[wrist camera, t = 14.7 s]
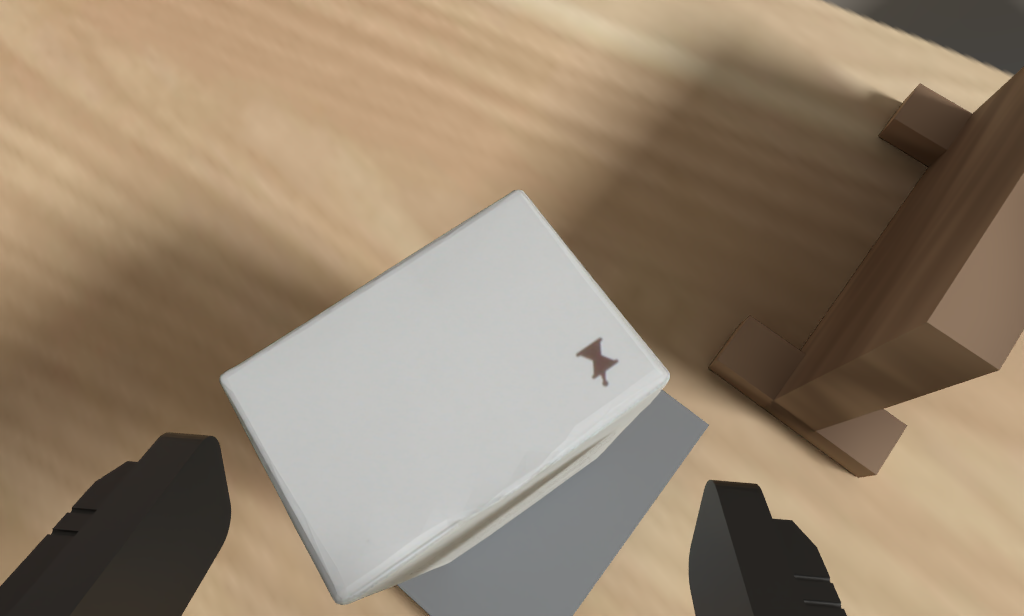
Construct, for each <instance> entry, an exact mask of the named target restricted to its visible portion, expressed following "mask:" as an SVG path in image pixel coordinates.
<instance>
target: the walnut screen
mask: <svg viewBox="0 0 1024 616" xmlns="http://www.w3.org/2000/svg"><path fill="white" fill-rule="evenodd" d="M879 137H881V138H882V139H884V140H885V141H887V142H889V143H890V144H892V145H894V146H895V147H897V148H899V149H900V150H902V151H904V152H905V153H907V154H908V155H910V156H912V157H913V158H915V159H917V160H918V161H920V162H922V163H923V164H925V165H927V166H928V168H927V170H926V171H925V173H924V174H923V176H922V177H921V178H920V180H919V181H918V183H917V184H916V186H915V187H914V188H913V190H912V191H911V193H910V194H909V196H908V197H907V199H906V200H905V201H904V203H903V204H902V206H901V207H900V209H899V210H898V211H897V213H896V214H895V216H894V217H893V219H892V220H891V221H890V223H889V224H888V226H887V227H886V229H885V230H884V231H883V233H882V234H881V236H880V237H879V239H878V240H877V242H876V243H875V244H874V246H873V247H872V249H871V250H870V252H869V253H868V254H867V256H866V257H865V259H864V260H863V262H862V263H861V264H860V266H859V267H858V269H857V270H856V272H855V273H854V274H853V276H852V277H851V279H850V280H849V282H848V283H847V285H846V286H845V287H844V289H843V290H842V292H841V293H840V295H839V296H838V297H837V299H836V300H835V302H834V303H833V305H832V306H831V307H830V309H829V310H828V312H827V313H826V315H825V316H824V317H823V319H822V320H821V322H820V323H819V325H818V326H817V328H816V329H815V330H814V332H813V333H812V335H811V336H810V338H809V339H808V340H807V342H806V343H805V345H804V346H803V348H802V349H801V350H799V349H797V348H796V347H794V346H793V345H792V344H790V343H789V342H787V341H786V340H784V339H783V338H782V337H780V336H779V335H777V334H776V333H774V332H773V331H772V330H770V329H769V328H767V327H766V326H764V325H763V324H762V323H760V322H759V321H757V320H756V319H754V318H753V317H752V316H749V317H748V318H746V319H745V320H744V321H743V322H742V323H741V324H740V325H739V326H738V328H737V329H736V330H735V332H734V333H733V334H732V336H731V337H730V338H729V340H728V341H727V343H726V344H725V345H724V347H723V348H722V349H721V351H720V352H719V353H718V355H717V356H716V358H715V359H714V360H713V362H712V363H711V364H710V366H709V367H708V368H709V369H710V370H712V371H713V372H714V373H716V374H717V375H719V376H720V377H721V378H723V379H724V380H725V381H727V382H728V383H729V384H731V385H732V386H734V387H735V388H736V389H738V390H739V391H740V392H742V393H743V394H745V395H746V396H747V397H749V398H750V399H751V400H753V401H754V402H755V403H757V404H758V405H760V406H761V407H762V408H764V409H765V410H766V411H768V412H769V413H771V414H772V415H773V416H775V417H776V418H777V419H779V420H780V421H781V422H783V423H784V424H786V425H787V426H788V427H790V428H791V429H792V430H794V431H795V432H797V433H798V434H799V435H801V436H802V437H803V438H805V439H806V440H807V441H809V442H810V443H812V444H813V445H814V446H816V447H817V448H818V449H820V450H821V451H823V452H824V453H825V454H827V455H828V456H829V457H831V458H832V459H833V460H835V461H836V462H838V463H839V464H840V465H842V466H843V467H844V468H846V469H847V470H849V471H850V472H851V473H853V474H854V475H855V476H857V477H858V478H859V477H866V476H873V475H877V473H878V471H879V470H880V468H881V467H882V465H883V463H884V462H885V460H886V459H887V457H888V456H889V454H890V452H891V451H892V449H893V448H894V446H895V444H896V443H897V441H898V440H899V438H900V436H901V435H902V433H903V432H904V430H905V428H906V427H907V425H906V424H904V423H903V422H901V421H900V420H899V419H897V418H896V417H894V416H893V415H891V414H890V413H889V412H887V411H886V410H884V408H887V407H890V406H893V405H896V404H899V403H902V402H905V401H908V400H911V399H914V398H917V397H920V396H923V395H926V394H929V393H932V392H935V391H938V390H941V389H944V388H947V387H950V386H953V385H956V384H959V383H962V382H965V381H968V380H971V379H974V378H977V377H980V376H983V375H986V374H989V373H992V372H995V371H998V370H1000V368H1001V367H1002V365H1003V363H1004V362H1005V360H1006V358H1007V357H1008V355H1009V353H1010V352H1011V350H1012V348H1013V347H1014V345H1015V343H1016V342H1017V340H1018V338H1019V337H1020V335H1021V333H1022V332H1023V330H1024V67H1023V68H1022V69H1021V70H1020V71H1019V72H1018V73H1016V74H1015V75H1014V76H1013V77H1012V78H1011V79H1010V80H1009V81H1008V82H1007V83H1005V84H1004V85H1003V86H1002V87H1001V88H1000V89H999V90H998V91H997V92H996V93H995V94H994V95H992V96H991V97H990V98H989V99H988V100H987V101H986V102H985V103H984V104H983V105H982V106H980V107H979V108H978V109H977V110H976V111H975V112H974V113H973V114H972V113H970V112H968V111H967V110H965V109H963V108H961V107H960V106H958V105H956V104H955V103H953V102H951V101H949V100H948V99H946V98H944V97H943V96H941V95H939V94H937V93H936V92H934V91H932V90H930V89H929V88H927V87H925V86H924V85H922V84H919V85H918V86H917V87H916V88H915V89H914V91H913V92H912V93H911V94H910V95H909V96H908V97H907V98H906V99H905V101H904V102H903V103H902V104H901V106H900V107H899V108H898V110H897V111H896V112H895V114H894V115H893V117H892V118H891V119H890V121H889V122H888V123H887V125H886V126H885V127H884V129H883V130H882V132H881V133H880V134H879Z"/></svg>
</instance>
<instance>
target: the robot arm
mask: <svg viewBox="0 0 1024 616" xmlns="http://www.w3.org/2000/svg"><path fill="white" fill-rule="evenodd" d="M230 520H231V504H230V498H229V493H228V487H227V482H226V476H225V471H224V465H223V460H222V455H221V449H220V445H219V442H218V440H217V439H216V438H215V437H213V436H205V435H193V434H181V433H165V434H163V435H162V436H160V437H159V438H158V439H157V441H156V442H155V443H154V444H153V445H152V446H151V448H150V449H149V450H148V451H147V452H146V453H145V454H144V456H143V457H142V458H141V459H140V460H139V461H138V462H131V461H127V462H125V463H124V464H122V465H121V466H119V467H118V468H116V469H115V470H113V471H111V472H110V473H108V474H107V475H105V476H104V477H102V478H101V479H99V480H97V481H96V482H95V483H94V484H93V485H92V486H91V487H90V488H89V489H88V490H87V491H86V493H85V494H84V495H83V496H82V497H81V498H80V499H79V500H78V501H77V502H76V504H75V505H74V506H73V507H72V511H71V513H66V515H65V516H64V517H63V518H62V519H61V520H60V521H59V522H58V523H57V525H56V526H55V527H54V528H53V532H52V534H51V535H50V534H47V536H46V537H45V538H44V539H43V540H42V541H41V542H40V543H39V544H38V545H37V547H36V548H35V549H34V550H33V551H32V552H31V553H30V554H29V555H28V556H27V558H26V559H25V560H24V561H23V562H22V563H21V564H20V565H19V566H18V567H17V569H16V570H15V571H14V572H13V573H12V574H11V575H10V576H9V577H8V578H7V580H6V581H5V582H4V583H3V584H2V585H1V586H0V616H181V615H182V614H183V612H184V610H185V609H186V607H187V605H188V603H189V602H190V600H191V598H192V597H193V595H194V593H195V592H196V590H197V588H198V586H199V585H200V583H201V581H202V580H203V578H204V576H205V575H206V573H207V571H208V569H209V568H210V566H211V564H212V563H213V561H214V559H215V558H216V556H217V554H218V552H219V551H220V549H221V547H222V545H223V544H224V541H225V539H226V536H227V533H228V530H229V525H230ZM689 583H690V590H691V595H692V600H693V605H694V610H695V615H696V616H847V615H846V613H845V610H844V609H841V601H840V599H839V597H838V594H837V592H836V590H835V588H834V585H833V583H830V576H829V574H828V572H827V569H826V567H825V565H824V563H823V560H822V558H821V556H820V553H819V551H818V549H817V547H816V546H815V545H814V544H813V543H812V542H811V540H810V539H809V538H808V537H807V536H806V535H805V534H804V533H803V532H802V531H801V530H800V529H799V527H798V526H797V525H796V524H795V523H794V522H793V521H792V520H781V519H772V516H771V514H770V511H769V508H768V506H767V503H766V501H765V498H764V495H763V493H762V490H761V488H760V487H759V486H758V485H757V484H752V483H740V482H729V481H717V480H709V481H708V482H707V484H706V486H705V489H704V493H703V497H702V501H701V505H700V510H699V514H698V518H697V522H696V526H695V531H694V535H693V539H692V543H691V548H690V554H689Z"/></svg>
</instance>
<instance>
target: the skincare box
mask: <svg viewBox="0 0 1024 616" xmlns="http://www.w3.org/2000/svg"><path fill="white" fill-rule="evenodd" d="M669 379H670V373H669V371H668V370H667V369H666V367H665V366H664V365H663V364H662V363H661V361H660V360H659V359H658V358H657V357H656V355H655V354H654V353H653V352H652V350H651V349H650V348H649V347H648V346H647V344H646V343H645V342H644V341H643V339H642V338H641V337H640V336H639V335H638V333H637V332H636V331H635V330H634V328H633V327H632V326H631V325H630V324H629V322H628V321H627V320H626V319H625V317H624V316H623V315H622V314H621V312H620V311H619V310H618V309H617V307H616V306H615V305H614V304H613V302H612V301H611V300H610V299H609V297H608V296H607V295H606V294H605V292H604V291H603V290H602V289H601V288H600V286H599V285H598V284H597V283H596V281H595V280H594V279H593V278H592V276H591V275H590V274H589V273H588V271H587V270H586V269H585V268H584V266H583V265H582V264H581V263H580V261H579V260H578V259H577V258H576V256H575V255H574V254H573V253H572V251H571V250H570V249H569V248H568V246H567V245H566V244H565V243H564V241H563V240H562V239H561V238H560V236H559V235H558V234H557V233H556V231H555V230H554V229H553V227H552V226H551V225H550V224H549V222H548V221H547V220H546V219H545V217H544V216H543V215H542V214H541V212H540V211H539V210H538V209H537V207H536V206H535V205H534V204H533V202H532V201H531V200H530V199H529V197H528V196H527V195H526V194H525V193H524V192H523V190H514V191H512V192H511V193H509V194H508V195H506V196H505V197H503V198H502V199H500V200H498V201H497V202H495V203H493V204H492V205H490V206H489V207H487V208H485V209H484V210H482V211H480V212H479V213H477V214H476V215H474V216H472V217H471V218H469V219H468V220H466V221H464V222H463V223H461V224H460V225H458V226H456V227H455V228H453V229H452V230H450V231H448V232H447V233H445V234H444V235H442V236H440V237H439V238H437V239H436V240H434V241H432V242H431V243H429V244H428V245H426V246H424V247H423V248H421V249H420V250H418V251H417V252H415V253H413V254H412V255H410V256H409V257H407V258H405V259H404V260H402V261H401V262H399V263H398V264H396V265H394V266H393V267H391V268H390V269H388V270H386V271H385V272H383V273H382V274H380V275H379V276H377V277H376V278H374V279H373V280H371V281H369V282H368V283H366V284H365V285H363V286H362V287H360V288H359V289H357V290H356V291H354V292H352V293H351V294H349V295H348V296H346V297H345V298H343V299H342V300H340V301H338V302H337V303H335V304H334V305H332V306H331V307H329V308H327V309H326V310H324V311H323V312H321V313H320V314H318V315H317V316H315V317H313V318H312V319H310V320H309V321H307V322H306V323H304V324H302V325H301V326H299V327H297V328H296V329H294V330H293V331H291V332H289V333H288V334H286V335H285V336H283V337H281V338H280V339H278V340H277V341H275V342H274V343H272V344H270V345H269V346H267V347H266V348H264V349H262V350H261V351H259V352H258V353H256V354H254V355H253V356H251V357H250V358H248V359H246V360H245V361H243V362H242V363H240V364H238V365H237V366H235V367H233V368H231V369H229V370H227V371H225V372H224V373H223V374H222V375H220V384H221V386H222V388H223V389H224V391H225V393H226V395H227V397H228V399H229V401H230V403H231V405H232V406H233V408H234V410H235V412H236V414H237V416H238V418H239V420H240V422H241V424H242V426H243V428H244V430H245V432H246V434H247V436H248V438H249V440H250V441H251V443H252V445H253V447H254V449H255V451H256V453H257V455H258V457H259V459H260V461H261V463H262V465H263V466H264V468H265V470H266V472H267V474H268V476H269V478H270V480H271V482H272V483H273V485H274V487H275V489H276V491H277V493H278V495H279V497H280V499H281V501H282V503H283V505H284V507H285V509H286V511H287V513H288V515H289V517H290V519H291V521H292V523H293V525H294V526H295V528H296V530H297V532H298V534H299V536H300V538H301V540H302V541H303V543H304V545H305V547H306V549H307V551H308V553H309V555H310V556H311V558H312V560H313V562H314V564H315V566H316V568H317V570H318V571H319V573H320V575H321V577H322V579H323V581H324V583H325V585H326V587H327V589H328V591H329V592H330V594H331V596H332V598H333V600H334V601H335V603H338V604H341V605H344V604H349V603H352V602H354V601H357V600H359V599H362V598H364V597H367V596H369V595H372V594H374V593H377V592H379V591H382V590H385V589H387V588H390V587H393V586H395V585H397V584H400V583H402V582H405V581H407V580H409V579H412V578H414V577H416V576H419V575H421V574H423V573H426V572H428V571H430V570H433V569H435V568H438V567H441V566H443V565H446V564H448V563H450V562H451V561H453V560H454V559H456V558H457V557H459V556H460V555H462V554H463V553H465V552H466V551H468V550H469V549H471V548H472V547H474V546H475V545H476V544H478V543H479V542H481V541H482V540H484V539H485V538H487V537H488V536H490V535H491V534H492V533H494V532H495V531H497V530H498V529H500V528H501V527H502V526H504V525H505V524H507V523H508V522H509V521H511V520H512V519H514V518H515V517H516V516H518V515H519V514H521V513H522V512H523V511H525V510H526V509H528V508H529V507H531V506H532V505H533V504H535V503H536V502H537V501H539V500H540V499H542V498H543V497H544V496H546V495H547V494H548V493H550V492H551V491H553V490H554V489H555V488H557V487H558V486H559V485H561V484H562V483H564V482H565V481H566V480H568V479H569V478H570V477H572V476H573V475H575V474H576V473H577V472H579V471H580V470H581V469H583V468H584V467H586V466H587V465H588V464H590V463H591V462H592V461H594V460H595V459H597V458H598V457H599V455H600V454H602V453H603V452H604V451H605V450H606V448H607V447H608V446H609V445H610V444H611V443H612V442H613V441H614V440H615V439H616V437H617V436H618V435H619V434H620V433H621V432H622V431H623V430H624V429H625V428H626V427H627V426H628V425H629V424H630V423H631V422H632V421H633V420H634V419H635V418H636V417H637V416H638V415H639V413H640V412H641V411H643V410H644V409H645V408H646V407H647V406H648V405H649V404H650V403H651V402H652V401H653V400H654V398H656V397H657V395H658V394H659V393H660V391H661V390H662V389H663V388H664V387H665V385H666V384H667V382H668V381H669Z"/></svg>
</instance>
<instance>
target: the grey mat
mask: <svg viewBox="0 0 1024 616" xmlns="http://www.w3.org/2000/svg"><path fill="white" fill-rule="evenodd" d="M708 426H709V425H708V424H707V423H706V422H704V421H703V420H702V419H700V418H699V417H698V416H696V415H695V414H694V413H692V412H691V411H690V410H688V409H687V408H686V407H684V406H683V405H682V404H680V403H679V402H678V401H676V400H675V399H674V398H672V397H671V396H670V395H668V394H667V393H666V392H664V391H663V390H661V391H660V393H659V394H658V395H657V397H656V398H654V400H653V401H652V402H651V403H650V404H649V405H648V406H647V407H646V408H645V409H644V410H643V411H641V412H640V413H639V415H638V416H637V417H636V418H635V419H634V420H633V421H632V422H631V423H630V424H629V425H628V426H627V427H626V428H625V429H624V430H623V431H622V432H621V433H620V434H619V435H618V436H617V437H616V439H615V440H614V441H613V442H612V443H611V444H610V445H609V446H608V447H607V448H606V450H605V451H604V452H603V453H602V454H600V455H599V457H598V458H597V459H595V460H594V461H592V462H591V463H590V464H588V465H587V466H586V467H584V468H583V469H581V470H580V471H579V472H577V473H576V474H575V475H573V476H572V477H570V478H569V479H568V480H566V481H565V482H564V483H562V484H561V485H559V486H558V487H557V488H555V489H554V490H553V491H551V492H550V493H548V494H547V495H546V496H544V497H543V498H542V499H540V500H539V501H537V502H536V503H535V504H533V505H532V506H531V507H529V508H528V509H526V510H525V511H523V512H522V513H521V514H519V515H518V516H516V517H515V518H514V519H512V520H511V521H509V522H508V523H507V524H505V525H504V526H502V527H501V528H500V529H498V530H497V531H495V532H494V533H492V534H491V535H490V536H488V537H487V538H485V539H484V540H482V541H481V542H479V543H478V544H476V545H475V546H474V547H472V548H471V549H469V550H468V551H466V552H465V553H463V554H462V555H460V556H459V557H457V558H456V559H454V560H453V561H451V562H450V563H448V564H446V565H443V566H441V567H438V568H435V569H433V570H430V571H428V572H426V573H423V574H421V575H419V576H416V577H414V578H412V579H409V580H407V581H405V582H402V583H400V584H397V585H398V586H399V587H400V588H401V589H402V590H403V591H404V592H405V593H406V594H408V595H409V596H410V597H411V598H412V599H413V600H414V601H415V602H416V603H417V604H419V605H420V606H421V607H422V608H423V609H424V610H425V611H426V612H427V613H428V614H429V615H431V616H573V615H574V613H575V612H576V610H577V609H578V608H579V606H580V605H581V603H582V602H583V601H584V599H585V598H586V596H587V595H588V594H589V592H590V591H591V589H592V588H593V587H594V585H595V584H596V582H597V581H598V580H599V578H600V577H601V575H602V574H603V573H604V571H605V570H606V568H607V567H608V566H609V564H610V563H611V561H612V560H613V559H614V557H615V556H616V554H617V553H618V552H619V550H620V549H621V547H622V546H623V545H624V543H625V542H626V540H627V539H628V538H629V536H630V535H631V533H632V532H633V531H634V529H635V528H636V526H637V525H638V524H639V522H640V521H641V519H642V518H643V517H644V515H645V514H646V512H647V511H648V510H649V508H650V507H651V505H652V504H653V503H654V501H655V500H656V498H657V497H658V496H659V494H660V493H661V491H662V490H663V489H664V487H665V486H666V484H667V483H668V482H669V480H670V479H671V477H672V476H673V475H674V473H675V472H676V470H677V469H678V468H679V466H680V465H681V464H682V462H683V461H684V459H685V458H686V457H687V455H688V454H689V452H690V451H691V450H692V448H693V447H694V445H695V444H696V443H697V441H698V440H699V438H700V437H701V436H702V434H703V433H704V431H705V430H706V429H707V427H708Z"/></svg>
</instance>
